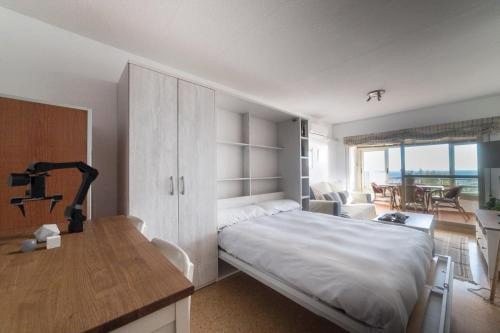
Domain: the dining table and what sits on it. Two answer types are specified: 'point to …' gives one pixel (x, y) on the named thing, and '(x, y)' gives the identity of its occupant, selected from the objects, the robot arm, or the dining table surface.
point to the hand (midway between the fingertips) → (37, 215)
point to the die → (46, 232)
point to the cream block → (53, 242)
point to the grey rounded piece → (29, 245)
